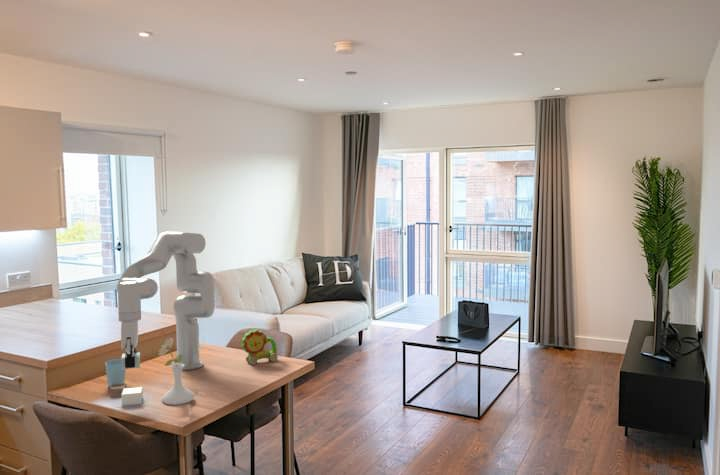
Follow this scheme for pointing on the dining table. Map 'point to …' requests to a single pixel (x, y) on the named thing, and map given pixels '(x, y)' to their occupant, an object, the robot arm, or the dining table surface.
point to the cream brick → (132, 396)
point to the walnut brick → (117, 389)
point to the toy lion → (258, 347)
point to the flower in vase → (178, 391)
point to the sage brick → (137, 361)
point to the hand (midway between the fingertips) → (131, 364)
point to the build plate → (132, 404)
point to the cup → (115, 372)
